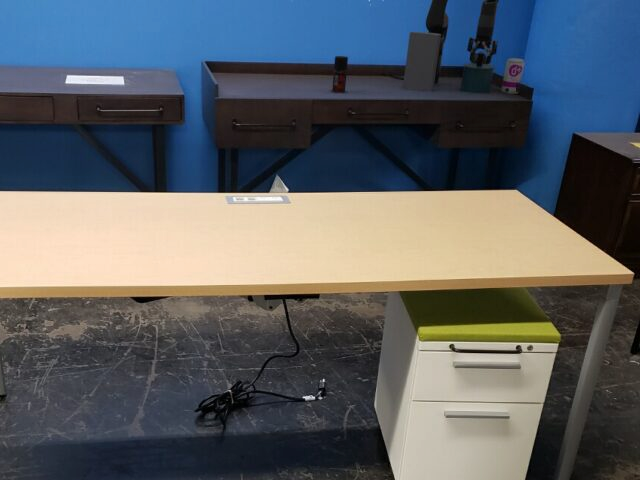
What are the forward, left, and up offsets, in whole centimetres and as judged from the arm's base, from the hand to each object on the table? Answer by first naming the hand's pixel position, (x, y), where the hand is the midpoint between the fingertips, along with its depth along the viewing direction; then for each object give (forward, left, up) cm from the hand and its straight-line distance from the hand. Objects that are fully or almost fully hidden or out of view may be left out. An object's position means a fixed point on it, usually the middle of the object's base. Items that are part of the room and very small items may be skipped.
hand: (479, 62), depth 368 cm
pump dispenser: (-11, +19, -13) cm, 26 cm away
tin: (0, 0, -13) cm, 13 cm away
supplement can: (+12, +12, -13) cm, 21 cm away
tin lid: (0, 0, -2) cm, 2 cm away
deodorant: (-38, -57, -13) cm, 70 cm away
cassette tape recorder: (-19, -20, -13) cm, 31 cm away
